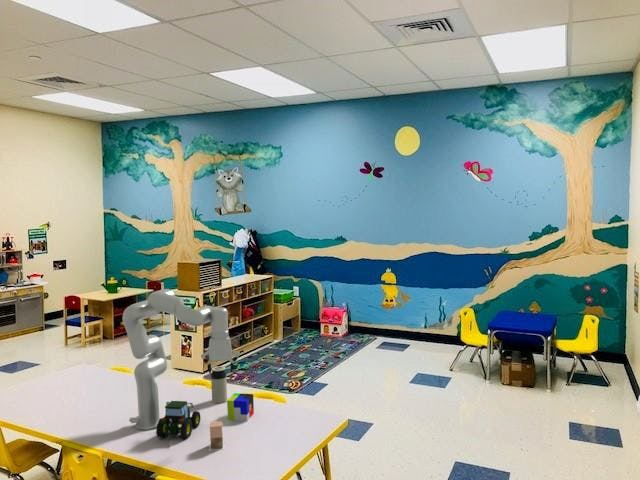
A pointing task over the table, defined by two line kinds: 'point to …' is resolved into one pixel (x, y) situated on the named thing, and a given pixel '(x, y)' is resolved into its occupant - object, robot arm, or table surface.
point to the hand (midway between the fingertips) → (220, 371)
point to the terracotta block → (215, 429)
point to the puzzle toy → (240, 407)
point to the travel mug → (219, 384)
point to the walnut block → (216, 443)
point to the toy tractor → (178, 420)
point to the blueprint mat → (216, 449)
